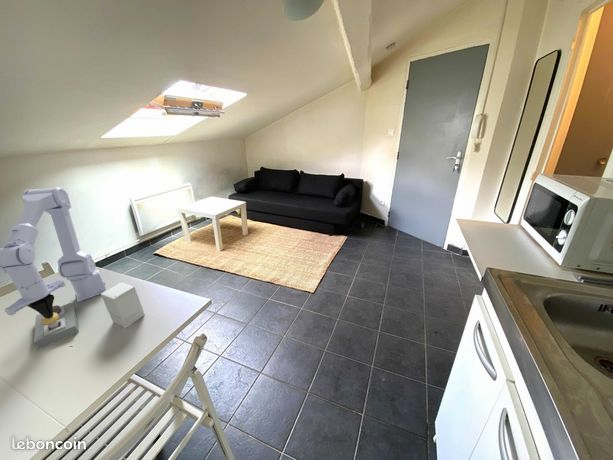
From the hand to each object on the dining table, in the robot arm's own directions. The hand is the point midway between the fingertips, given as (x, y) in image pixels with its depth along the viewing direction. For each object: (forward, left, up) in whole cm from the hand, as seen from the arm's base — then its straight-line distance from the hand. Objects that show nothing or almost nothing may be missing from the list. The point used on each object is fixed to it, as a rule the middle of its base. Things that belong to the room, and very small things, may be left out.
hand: (49, 316), depth 84 cm
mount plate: (0, -4, -8) cm, 9 cm away
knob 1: (0, 0, -5) cm, 5 cm away
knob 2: (0, -9, -7) cm, 11 cm away
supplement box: (-19, +8, -8) cm, 22 cm away
